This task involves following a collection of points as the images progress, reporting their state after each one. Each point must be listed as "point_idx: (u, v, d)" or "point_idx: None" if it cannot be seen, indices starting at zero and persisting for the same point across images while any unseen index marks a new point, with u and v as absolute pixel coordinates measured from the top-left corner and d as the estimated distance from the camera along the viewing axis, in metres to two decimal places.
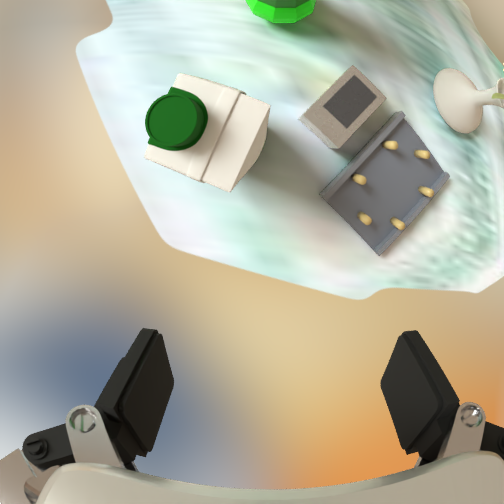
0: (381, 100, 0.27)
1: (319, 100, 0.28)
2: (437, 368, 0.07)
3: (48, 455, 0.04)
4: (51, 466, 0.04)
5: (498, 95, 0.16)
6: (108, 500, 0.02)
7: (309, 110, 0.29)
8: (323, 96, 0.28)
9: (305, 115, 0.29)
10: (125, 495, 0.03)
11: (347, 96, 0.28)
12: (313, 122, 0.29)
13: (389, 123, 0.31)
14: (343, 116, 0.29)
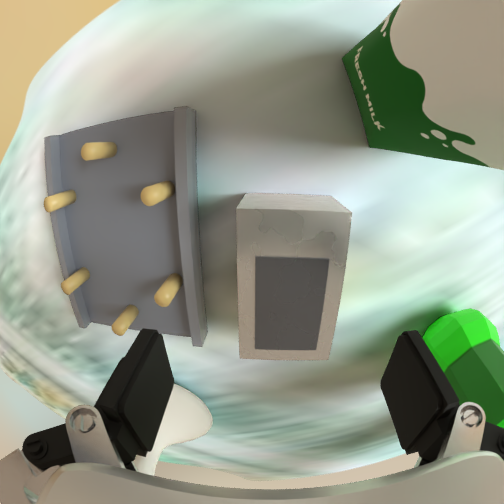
0: (243, 349, 0.17)
1: (342, 263, 0.14)
2: (437, 368, 0.07)
3: (48, 455, 0.04)
4: (51, 466, 0.04)
5: None
6: (108, 500, 0.02)
7: (346, 230, 0.14)
8: (340, 276, 0.15)
9: (346, 215, 0.13)
10: (125, 495, 0.03)
11: (300, 309, 0.16)
12: (322, 214, 0.14)
13: (200, 315, 0.21)
14: (278, 273, 0.15)
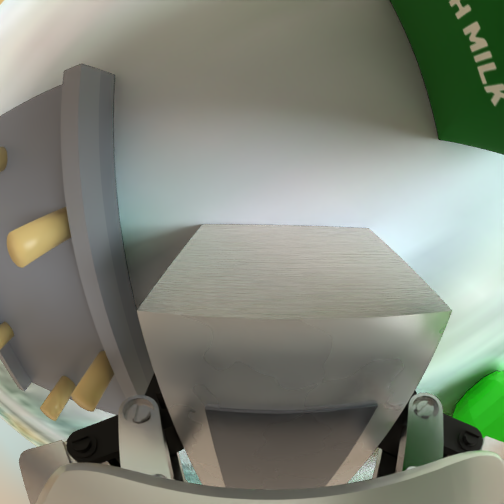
0: (208, 485, 0.08)
1: (399, 404, 0.05)
2: None
3: (98, 451, 0.05)
4: (100, 463, 0.05)
5: None
6: (108, 500, 0.02)
7: (428, 350, 0.05)
8: (389, 420, 0.06)
9: (439, 318, 0.04)
10: (125, 495, 0.03)
11: (304, 463, 0.06)
12: (385, 324, 0.04)
13: None
14: (260, 428, 0.06)
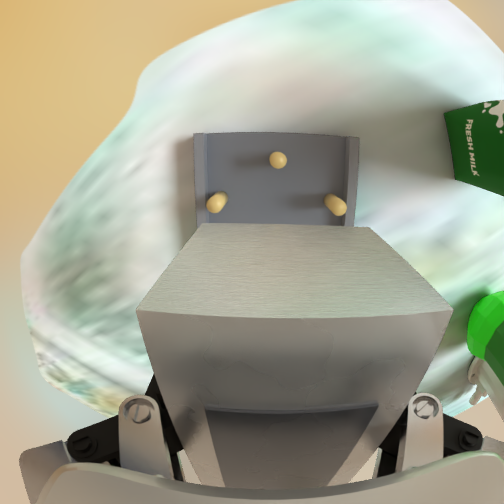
0: (208, 485, 0.08)
1: (401, 404, 0.05)
2: None
3: (98, 451, 0.05)
4: (101, 463, 0.05)
5: None
6: (108, 500, 0.02)
7: (430, 350, 0.04)
8: (390, 420, 0.05)
9: (441, 318, 0.04)
10: (125, 495, 0.03)
11: (305, 464, 0.06)
12: (387, 323, 0.04)
13: None
14: (261, 429, 0.06)
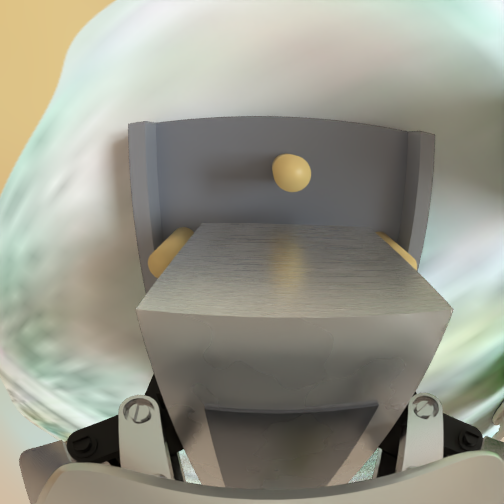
0: (208, 485, 0.08)
1: (401, 404, 0.05)
2: None
3: (98, 451, 0.05)
4: (101, 463, 0.05)
5: None
6: (108, 500, 0.02)
7: (430, 349, 0.04)
8: (390, 420, 0.05)
9: (441, 317, 0.04)
10: (125, 495, 0.03)
11: (304, 464, 0.06)
12: (387, 323, 0.04)
13: None
14: (261, 429, 0.06)
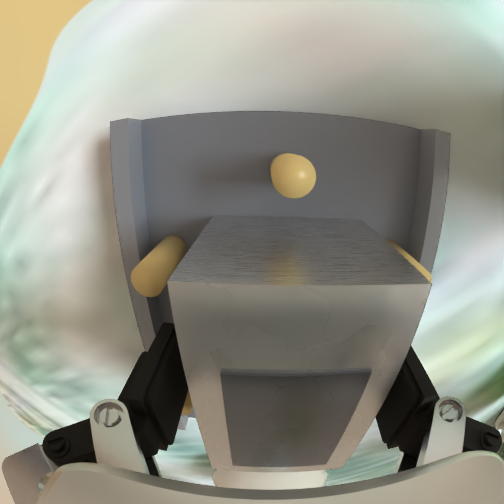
0: (216, 463, 0.09)
1: (392, 372, 0.06)
2: (416, 361, 0.07)
3: (71, 452, 0.04)
4: None
5: None
6: (108, 500, 0.02)
7: (414, 319, 0.06)
8: (384, 389, 0.07)
9: (421, 290, 0.05)
10: (125, 495, 0.03)
11: (307, 434, 0.07)
12: (374, 292, 0.05)
13: None
14: (268, 394, 0.07)
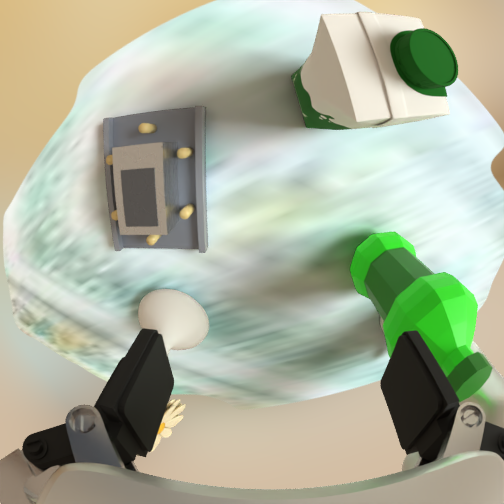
0: (121, 227, 0.28)
1: (161, 169, 0.26)
2: (437, 368, 0.07)
3: (48, 455, 0.04)
4: (51, 466, 0.04)
5: None
6: (108, 500, 0.02)
7: (160, 151, 0.25)
8: (161, 177, 0.26)
9: (159, 144, 0.25)
10: (125, 495, 0.03)
11: (144, 198, 0.27)
12: (148, 145, 0.25)
13: (205, 229, 0.34)
14: (131, 177, 0.26)
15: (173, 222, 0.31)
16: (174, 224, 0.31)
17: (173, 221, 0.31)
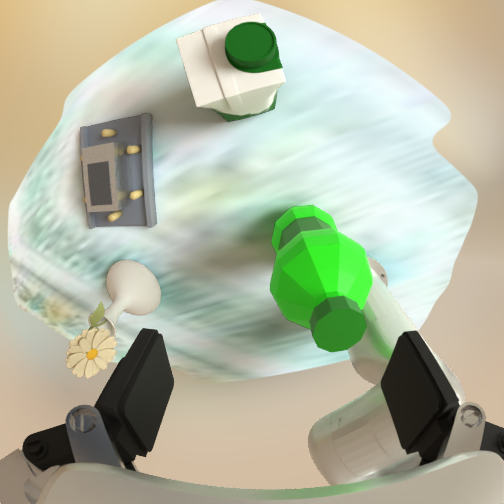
0: (88, 206, 0.36)
1: (112, 162, 0.33)
2: (437, 368, 0.07)
3: (48, 455, 0.04)
4: (51, 466, 0.04)
5: (100, 311, 0.31)
6: (108, 500, 0.02)
7: (112, 149, 0.32)
8: (113, 167, 0.33)
9: (111, 143, 0.32)
10: (125, 495, 0.03)
11: (102, 183, 0.34)
12: (104, 145, 0.32)
13: (151, 209, 0.40)
14: (94, 169, 0.33)
15: (126, 202, 0.38)
16: (127, 204, 0.38)
17: (126, 202, 0.38)
